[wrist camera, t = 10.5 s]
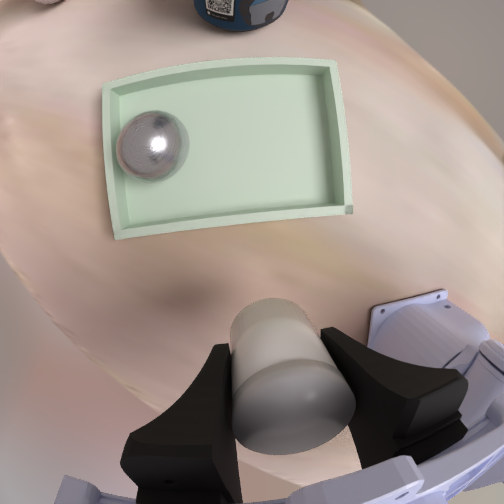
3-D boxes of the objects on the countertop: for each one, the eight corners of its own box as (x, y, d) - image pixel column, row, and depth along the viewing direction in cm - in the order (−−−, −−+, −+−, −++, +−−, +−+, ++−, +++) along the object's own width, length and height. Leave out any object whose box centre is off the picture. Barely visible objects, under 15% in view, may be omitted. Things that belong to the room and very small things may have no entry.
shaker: (311, 291, 13) (363, 364, 7) (311, 359, 14) (347, 440, 8) (222, 303, 13) (221, 390, 7) (235, 371, 14) (241, 461, 8)
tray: (325, 70, 17) (336, 60, 15) (340, 209, 20) (352, 213, 17) (113, 92, 16) (102, 84, 14) (125, 233, 19) (114, 239, 17)
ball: (188, 117, 17) (187, 95, 13) (192, 180, 18) (191, 176, 14) (125, 126, 16) (106, 107, 12) (127, 189, 17) (108, 187, 13)
